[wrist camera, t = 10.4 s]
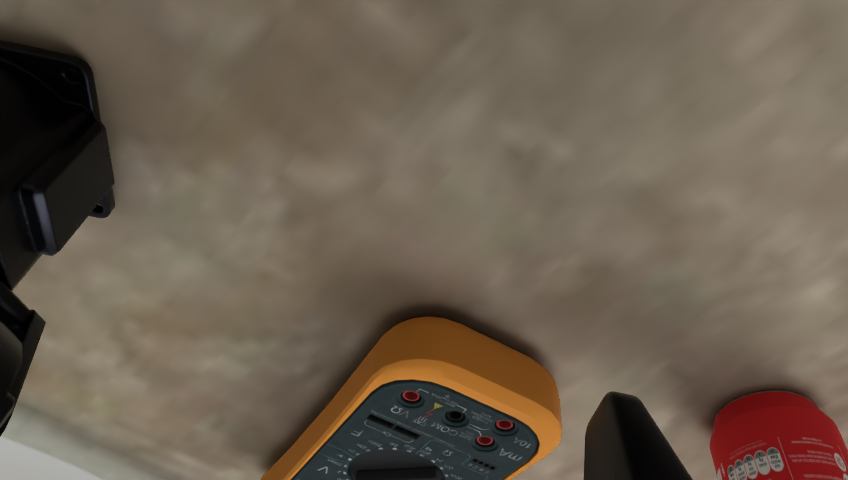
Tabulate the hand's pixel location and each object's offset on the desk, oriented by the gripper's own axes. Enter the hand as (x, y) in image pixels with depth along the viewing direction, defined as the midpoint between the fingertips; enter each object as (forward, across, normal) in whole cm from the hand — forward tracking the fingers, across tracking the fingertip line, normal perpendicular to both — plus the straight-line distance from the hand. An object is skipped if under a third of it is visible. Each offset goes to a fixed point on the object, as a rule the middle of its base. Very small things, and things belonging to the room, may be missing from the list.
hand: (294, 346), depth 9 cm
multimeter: (+13, -3, +21) cm, 25 cm away
